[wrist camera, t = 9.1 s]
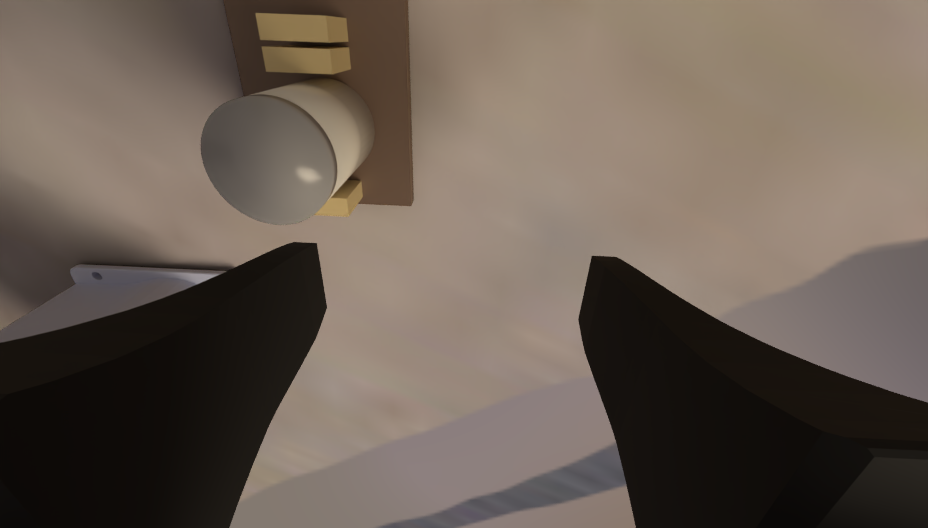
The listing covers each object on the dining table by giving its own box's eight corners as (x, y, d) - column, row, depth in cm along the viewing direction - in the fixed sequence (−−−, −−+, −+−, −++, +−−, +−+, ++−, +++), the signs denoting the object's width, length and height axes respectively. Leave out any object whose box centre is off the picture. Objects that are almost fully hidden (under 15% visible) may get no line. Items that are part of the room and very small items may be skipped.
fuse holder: (273, 194, 20) (240, 219, 18) (195, -190, 14) (122, -247, 11) (413, 200, 20) (403, 226, 17) (402, -183, 14) (382, -239, 11)
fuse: (291, 170, 19) (220, 222, 14) (275, 75, 17) (183, 93, 12) (377, 174, 19) (338, 227, 14) (371, 79, 17) (322, 99, 12)
